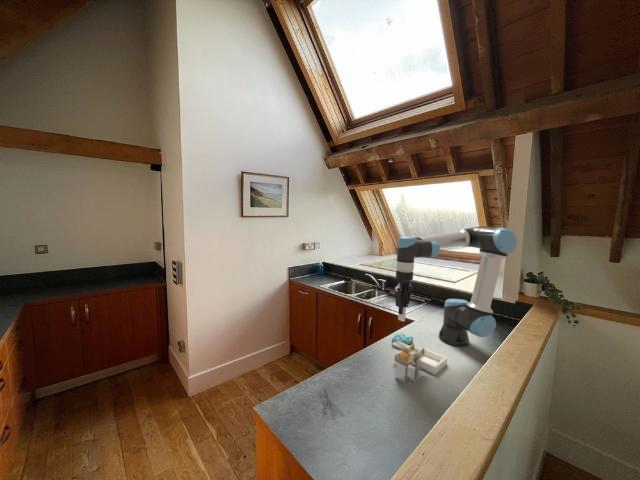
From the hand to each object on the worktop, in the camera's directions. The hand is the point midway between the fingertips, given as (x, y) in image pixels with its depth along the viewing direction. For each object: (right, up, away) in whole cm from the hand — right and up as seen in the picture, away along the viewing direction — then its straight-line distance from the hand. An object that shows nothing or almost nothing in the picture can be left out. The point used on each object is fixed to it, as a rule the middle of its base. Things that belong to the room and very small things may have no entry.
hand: (401, 320), depth 122 cm
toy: (+6, -19, +21) cm, 29 cm away
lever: (-2, -13, -5) cm, 14 cm away
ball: (-3, -12, -12) cm, 17 cm away
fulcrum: (-1, -21, -8) cm, 23 cm away
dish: (+13, -21, +1) cm, 24 cm away
